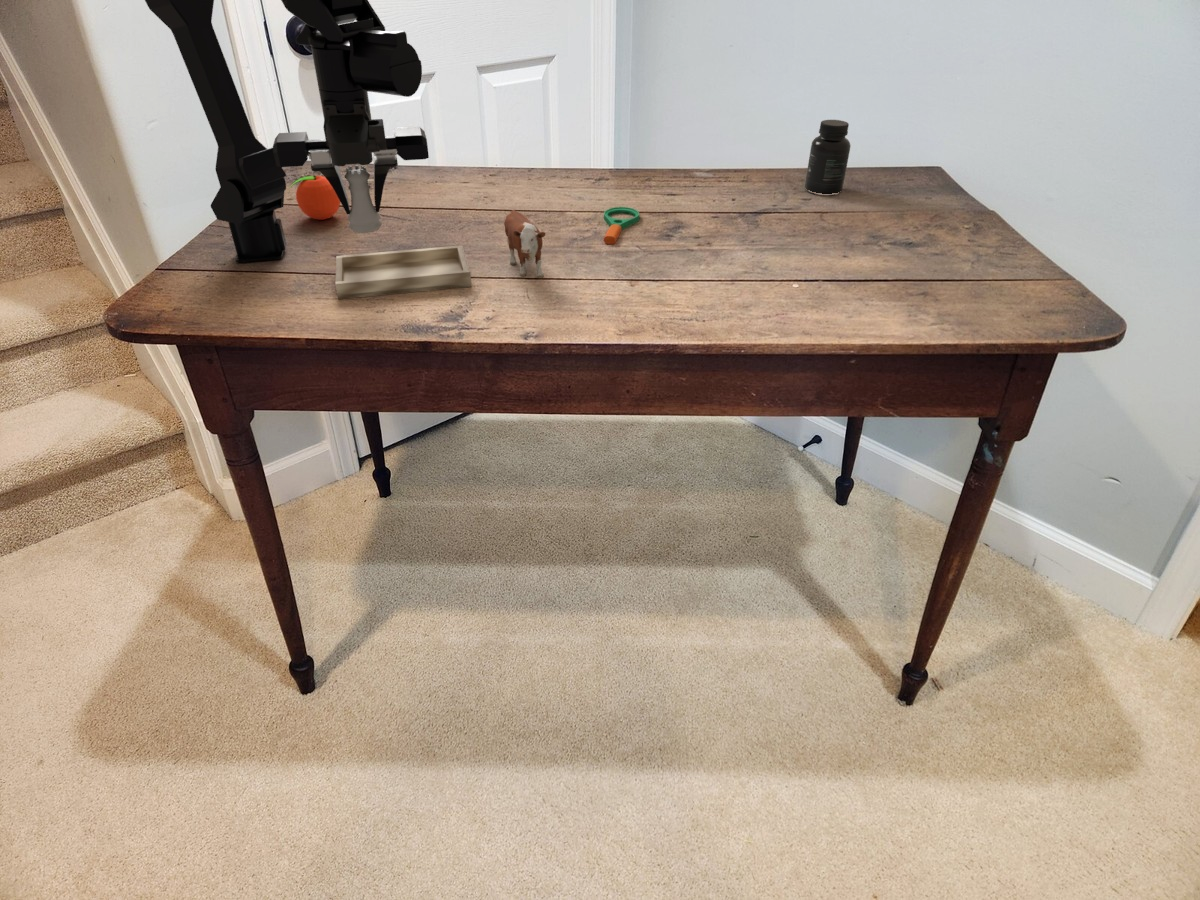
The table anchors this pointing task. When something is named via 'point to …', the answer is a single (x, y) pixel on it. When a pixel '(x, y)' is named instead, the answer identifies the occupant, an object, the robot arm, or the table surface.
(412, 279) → the tray
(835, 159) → the supplement bottle
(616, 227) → the magnifying glass
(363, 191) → the rook chess piece
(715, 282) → the table surface
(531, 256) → the bull figurine
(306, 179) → the clementine
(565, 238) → the table surface
